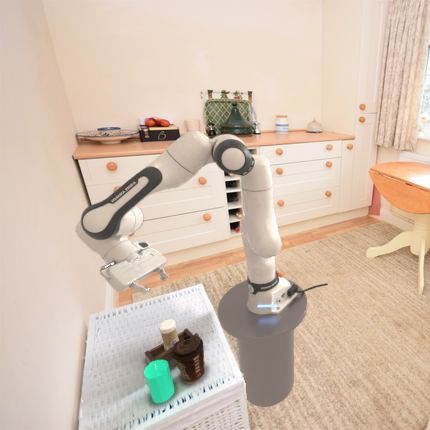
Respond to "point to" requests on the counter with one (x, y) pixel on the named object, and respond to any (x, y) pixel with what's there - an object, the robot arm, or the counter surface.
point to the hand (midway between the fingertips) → (157, 285)
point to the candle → (159, 381)
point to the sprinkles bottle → (168, 333)
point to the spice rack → (165, 354)
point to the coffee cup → (189, 357)
